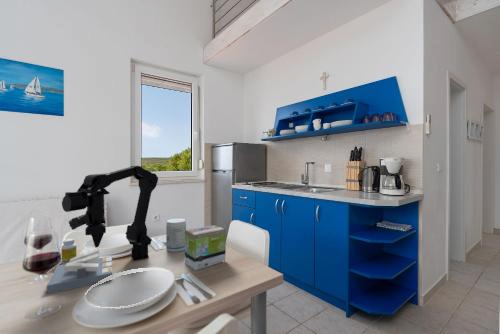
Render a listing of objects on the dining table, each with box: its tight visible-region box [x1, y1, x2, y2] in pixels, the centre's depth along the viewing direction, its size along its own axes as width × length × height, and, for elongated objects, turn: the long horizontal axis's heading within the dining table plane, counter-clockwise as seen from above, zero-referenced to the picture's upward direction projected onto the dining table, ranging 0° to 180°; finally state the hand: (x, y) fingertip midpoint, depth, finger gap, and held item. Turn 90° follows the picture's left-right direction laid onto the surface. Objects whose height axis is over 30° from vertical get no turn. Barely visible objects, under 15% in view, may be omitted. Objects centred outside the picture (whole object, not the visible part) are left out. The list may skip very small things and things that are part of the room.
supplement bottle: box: [60, 238, 78, 265], centre depth 109 cm, size 5×5×10 cm
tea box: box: [184, 224, 227, 271], centre depth 107 cm, size 15×10×15 cm, turn 131°
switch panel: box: [46, 256, 113, 294], centre depth 95 cm, size 19×19×6 cm
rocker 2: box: [69, 253, 100, 263], centre depth 95 cm, size 10×4×2 cm, turn 120°
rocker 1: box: [70, 247, 101, 262], centre depth 100 cm, size 10×4×2 cm, turn 120°
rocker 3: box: [64, 263, 99, 271], centre depth 90 cm, size 10×4×2 cm, turn 120°
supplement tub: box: [165, 217, 187, 253], centre depth 124 cm, size 10×10×15 cm
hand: (96, 247), depth 95 cm, fingers closed
